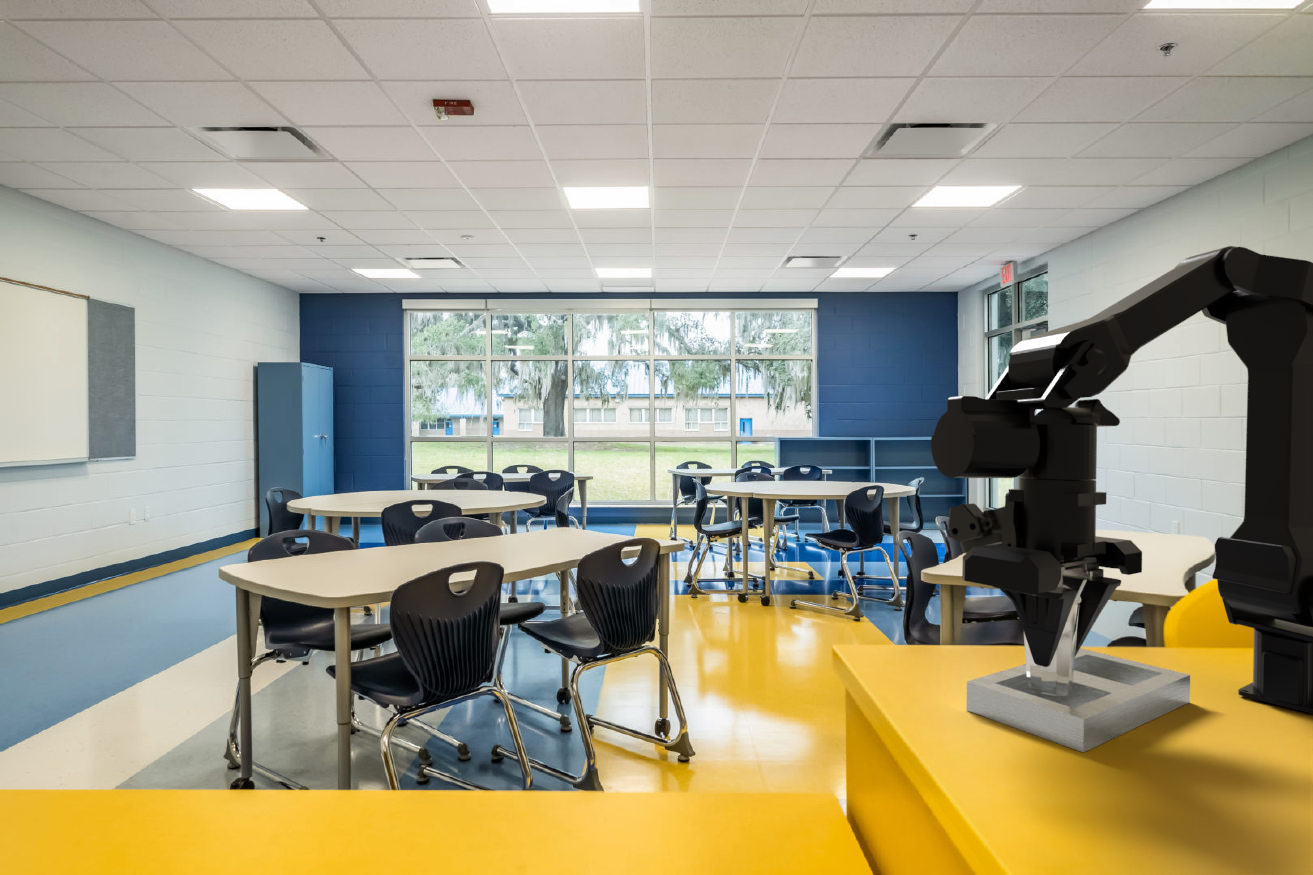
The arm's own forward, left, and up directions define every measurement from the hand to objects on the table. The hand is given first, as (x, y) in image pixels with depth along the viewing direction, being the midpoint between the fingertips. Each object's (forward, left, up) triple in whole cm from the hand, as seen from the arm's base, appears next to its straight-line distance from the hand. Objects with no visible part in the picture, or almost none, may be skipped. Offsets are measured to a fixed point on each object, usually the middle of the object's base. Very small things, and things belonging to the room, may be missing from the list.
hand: (1054, 661), depth 59 cm
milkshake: (0, 0, -3) cm, 3 cm away
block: (-5, 0, -5) cm, 7 cm away
